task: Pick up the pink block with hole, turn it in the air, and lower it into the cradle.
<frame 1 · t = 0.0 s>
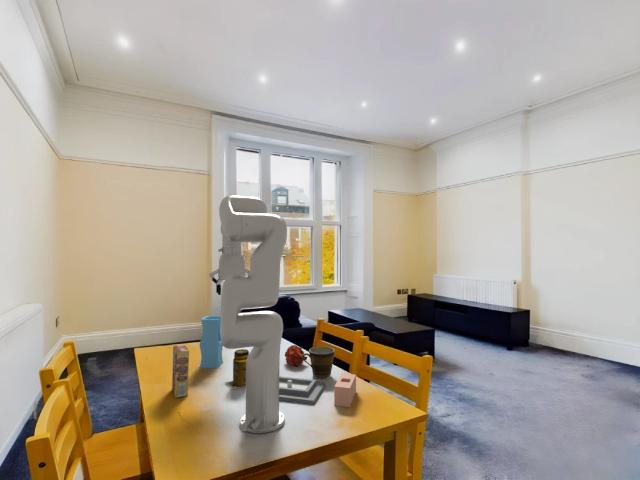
hand: (231, 293, 143), 31 cm above the table, tool pointing down, fingers open, 9 cm apart
condiment: (238, 384, 130), on the table
vase: (211, 365, 150), on the table
cradle: (289, 390, 123), on the table
candy box: (180, 393, 122), on the table
dragon fruit: (295, 364, 151), on the table
pink block with hole: (345, 398, 117), on the table
ceramic cup: (318, 376, 137), on the table
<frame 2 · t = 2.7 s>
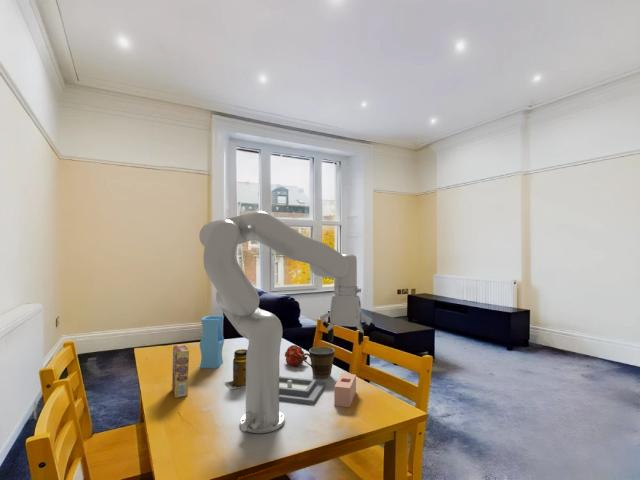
hand: (345, 342, 118), 18 cm above the table, tool pointing down, fingers open, 9 cm apart
nothing on the table moved.
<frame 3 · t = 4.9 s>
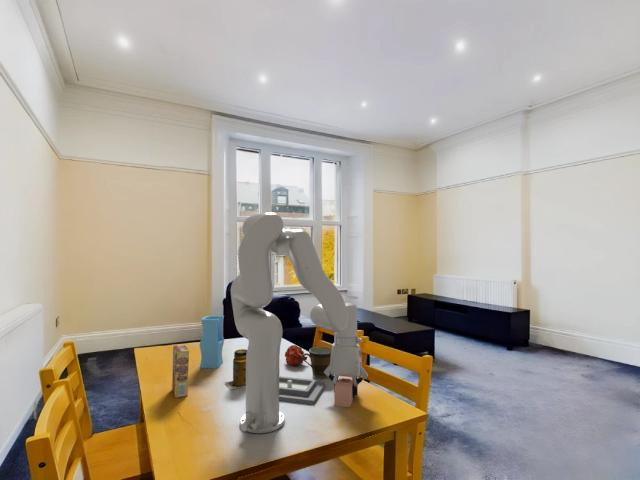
hand: (345, 395, 117), 1 cm above the table, tool pointing down, fingers closed on pink block with hole, 5 cm apart
pink block with hole: (345, 398, 117), on the table, touching gripper
everything else where it was.
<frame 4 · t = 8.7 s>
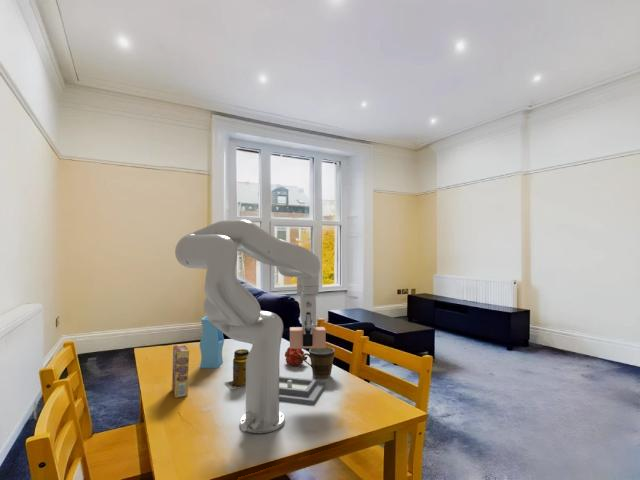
hand: (307, 343, 122), 17 cm above the table, tool pointing down, fingers closed on pink block with hole, 5 cm apart
pink block with hole: (307, 346, 122), point 16 cm above the table, touching gripper
everything else where it was.
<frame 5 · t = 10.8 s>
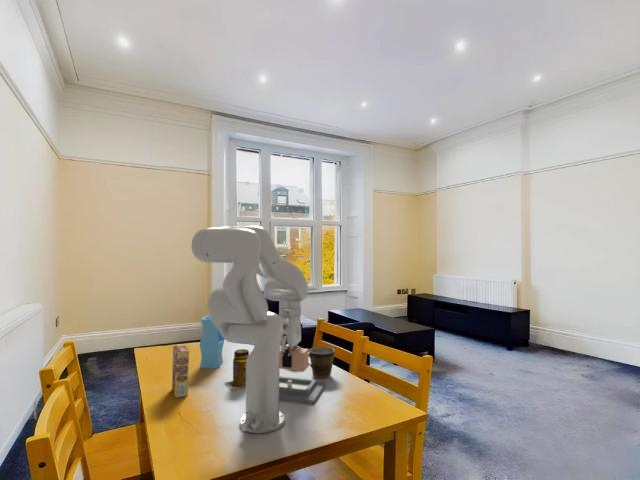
hand: (289, 363, 124), 9 cm above the table, tool pointing down, fingers closed on pink block with hole, 5 cm apart
pink block with hole: (289, 366, 124), point 8 cm above the table, touching gripper
everything else where it was.
when the fingers open (4 cm above the table, at t = 12.5 s): pink block with hole drops 1 cm, resting on cradle.
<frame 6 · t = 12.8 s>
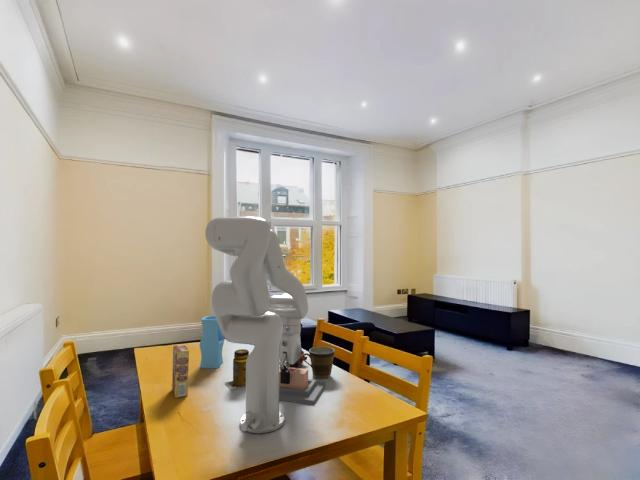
hand: (289, 378, 124), 4 cm above the table, tool pointing down, fingers open, 8 cm apart
pink block with hole: (289, 387, 123), point 1 cm above the table, touching cradle
everything else where it was.
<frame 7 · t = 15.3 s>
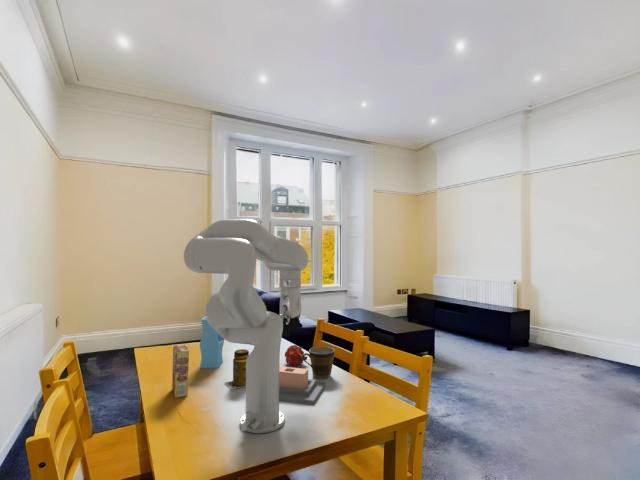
hand: (289, 332, 124), 20 cm above the table, tool pointing down, fingers open, 9 cm apart
nothing on the table moved.
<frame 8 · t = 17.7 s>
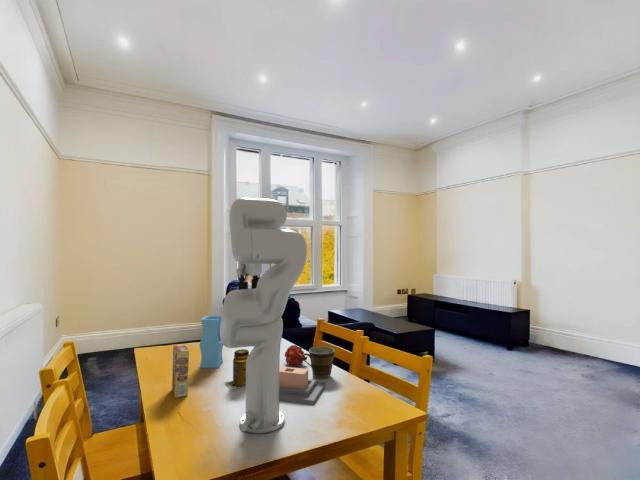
hand: (249, 291, 125), 34 cm above the table, tool pointing down, fingers open, 9 cm apart
nothing on the table moved.
at the end: pink block with hole 0.1 cm off-centre on the cradle, point 1.3 cm above the cradle's base; pink block with hole tilted 0°; the gripper is holding nothing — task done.
